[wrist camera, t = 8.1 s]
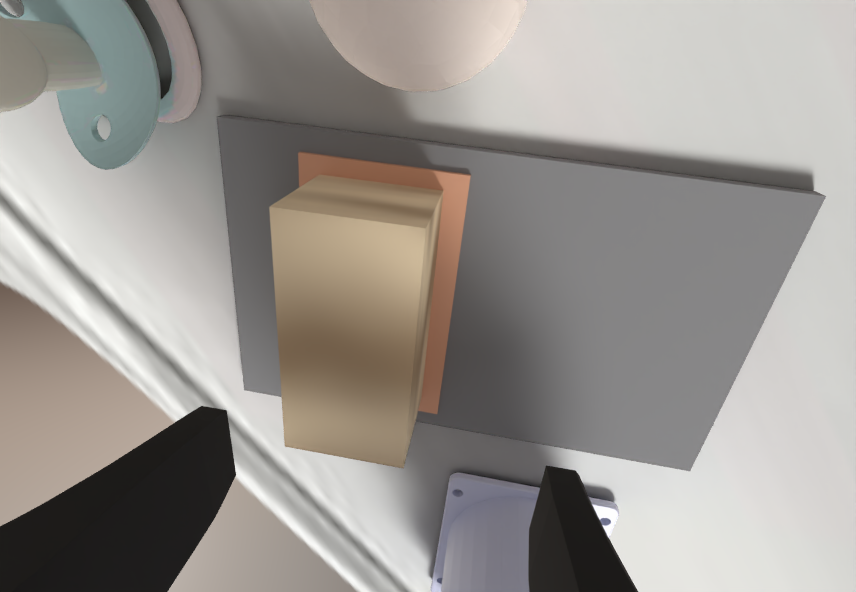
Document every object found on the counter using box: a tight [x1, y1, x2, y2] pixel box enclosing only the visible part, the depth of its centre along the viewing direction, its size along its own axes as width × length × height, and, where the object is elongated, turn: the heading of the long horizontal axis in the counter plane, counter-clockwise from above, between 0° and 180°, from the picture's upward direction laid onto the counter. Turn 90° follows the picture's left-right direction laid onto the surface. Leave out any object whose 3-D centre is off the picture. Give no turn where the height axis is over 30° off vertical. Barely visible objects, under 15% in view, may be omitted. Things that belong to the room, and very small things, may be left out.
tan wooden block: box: [269, 175, 444, 468], centre depth 17 cm, size 9×4×4 cm, turn 175°
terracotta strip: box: [298, 152, 471, 414], centre depth 19 cm, size 10×6×1 cm, turn 175°
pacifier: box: [0, 0, 201, 170], centre depth 14 cm, size 7×6×6 cm
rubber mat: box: [217, 115, 826, 471], centre depth 19 cm, size 12×20×1 cm, turn 85°
